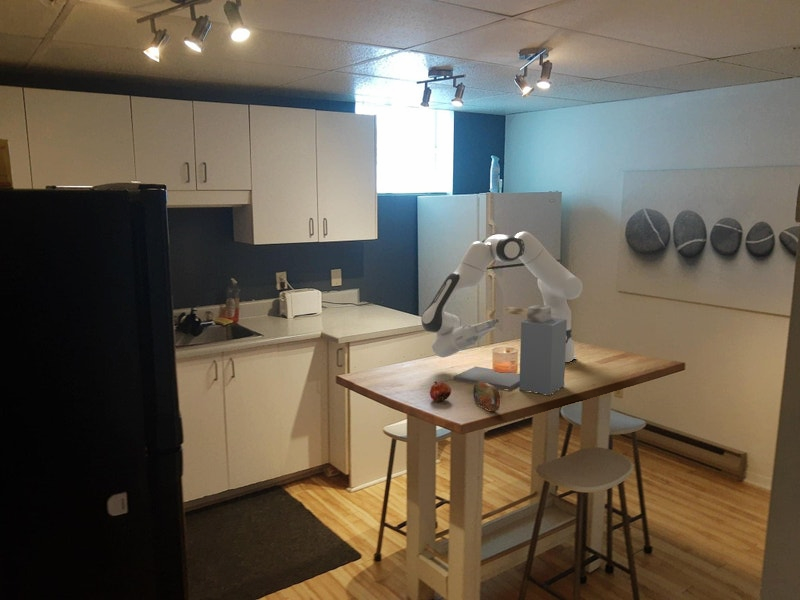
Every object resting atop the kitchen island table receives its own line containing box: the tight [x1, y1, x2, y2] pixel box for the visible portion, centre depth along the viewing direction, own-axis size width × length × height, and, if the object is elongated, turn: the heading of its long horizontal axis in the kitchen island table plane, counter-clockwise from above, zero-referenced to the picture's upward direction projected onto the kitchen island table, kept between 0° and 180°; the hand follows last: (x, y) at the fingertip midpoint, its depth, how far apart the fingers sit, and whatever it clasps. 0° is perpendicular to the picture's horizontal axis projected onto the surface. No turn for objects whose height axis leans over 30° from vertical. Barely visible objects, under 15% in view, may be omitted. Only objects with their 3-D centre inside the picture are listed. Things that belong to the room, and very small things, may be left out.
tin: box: [472, 381, 501, 412], centre depth 213 cm, size 15×3×8 cm, turn 21°
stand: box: [518, 318, 567, 396], centre depth 233 cm, size 12×14×26 cm
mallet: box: [505, 304, 551, 323], centre depth 234 cm, size 16×8×5 cm, turn 55°
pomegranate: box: [429, 380, 452, 405], centre depth 219 cm, size 7×7×10 cm
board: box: [453, 366, 520, 391], centre depth 247 cm, size 24×18×2 cm
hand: (492, 322), depth 243 cm, fingers open, 8 cm apart
